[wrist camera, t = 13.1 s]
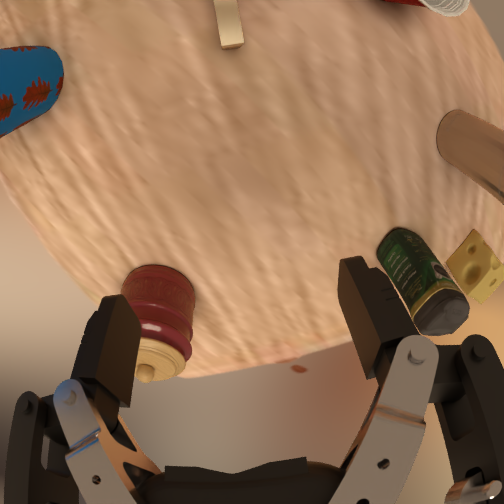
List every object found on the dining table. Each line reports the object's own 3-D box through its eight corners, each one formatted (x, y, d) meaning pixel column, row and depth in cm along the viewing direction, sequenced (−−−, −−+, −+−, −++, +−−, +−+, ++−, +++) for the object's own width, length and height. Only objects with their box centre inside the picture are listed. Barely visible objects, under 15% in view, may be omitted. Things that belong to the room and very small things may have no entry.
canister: (110, 274, 45) (81, 361, 31) (175, 253, 44) (159, 350, 30) (147, 320, 53) (134, 401, 39) (207, 306, 52) (205, 395, 38)
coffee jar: (368, 257, 48) (413, 343, 33) (393, 221, 43) (452, 303, 29) (403, 268, 51) (447, 344, 36) (426, 237, 46) (481, 310, 32)
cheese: (473, 227, 46) (500, 257, 38) (487, 246, 50) (511, 274, 42) (442, 263, 51) (466, 296, 43) (460, 277, 55) (480, 307, 47)
